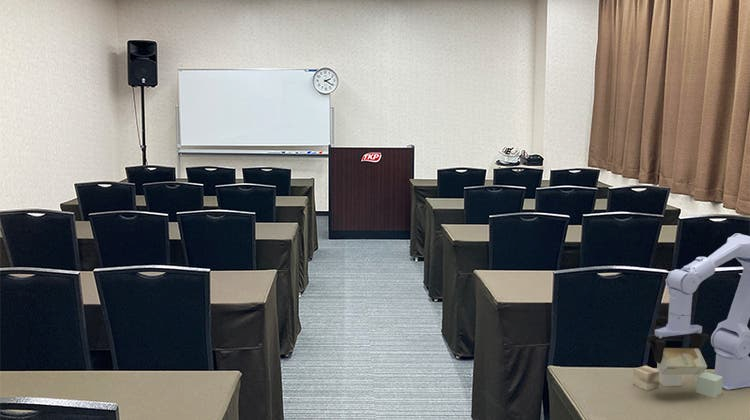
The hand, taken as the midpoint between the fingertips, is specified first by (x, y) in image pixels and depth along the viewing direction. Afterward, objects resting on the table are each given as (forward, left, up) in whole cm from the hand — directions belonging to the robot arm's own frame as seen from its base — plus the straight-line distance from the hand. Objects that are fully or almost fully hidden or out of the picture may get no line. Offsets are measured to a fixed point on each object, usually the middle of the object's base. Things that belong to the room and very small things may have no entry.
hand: (676, 359), depth 201 cm
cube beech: (+4, -7, -10) cm, 13 cm away
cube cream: (-4, -7, -10) cm, 13 cm away
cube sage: (-10, +3, -10) cm, 14 cm away
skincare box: (-6, +2, 0) cm, 7 cm away
